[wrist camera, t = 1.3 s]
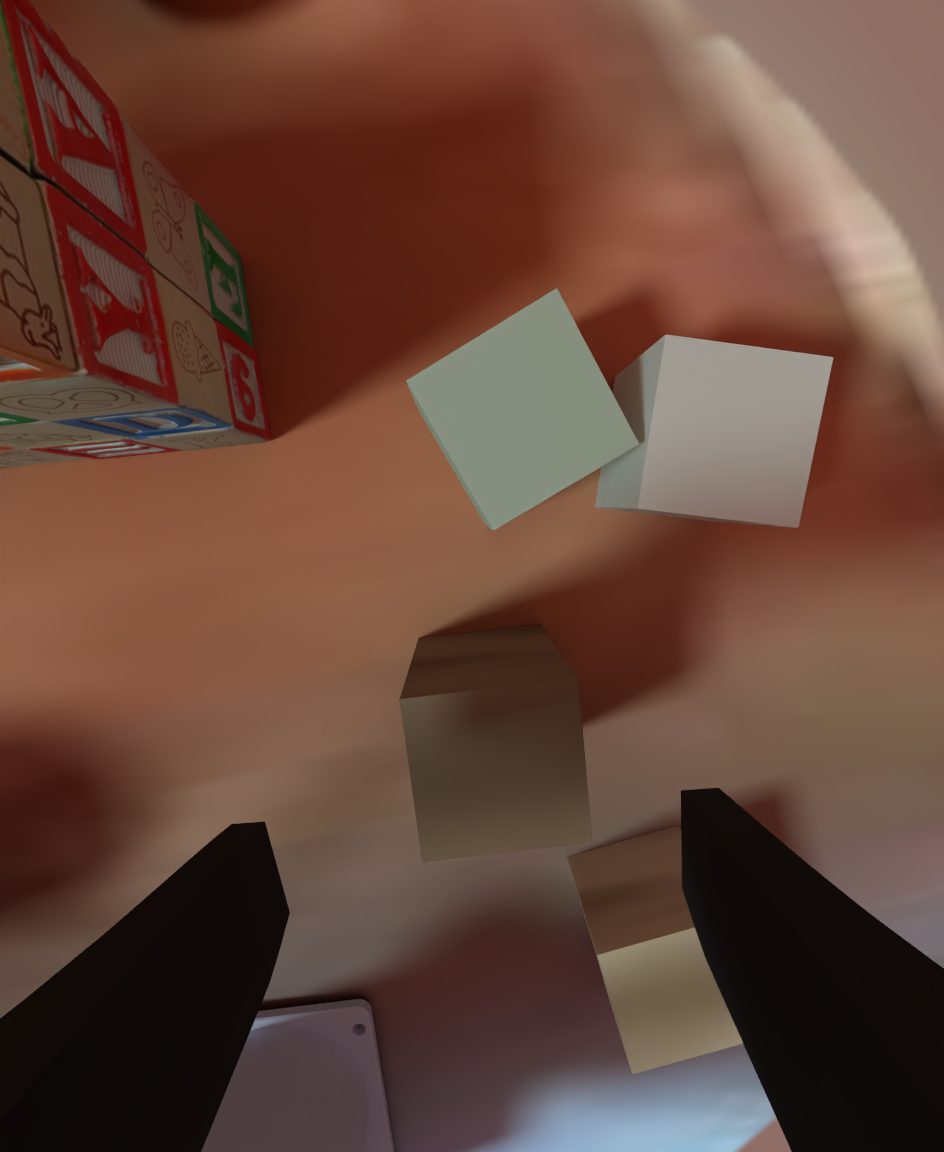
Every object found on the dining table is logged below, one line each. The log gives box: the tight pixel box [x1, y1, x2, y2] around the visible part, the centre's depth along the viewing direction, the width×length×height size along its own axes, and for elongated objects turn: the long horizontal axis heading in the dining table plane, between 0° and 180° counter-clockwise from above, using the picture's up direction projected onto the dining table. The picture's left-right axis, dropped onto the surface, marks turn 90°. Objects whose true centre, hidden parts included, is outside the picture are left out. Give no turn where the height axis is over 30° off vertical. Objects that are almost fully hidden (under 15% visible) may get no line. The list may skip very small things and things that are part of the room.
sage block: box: [406, 288, 639, 531], centre depth 16 cm, size 4×4×4 cm
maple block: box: [567, 825, 743, 1075], centre depth 18 cm, size 4×4×4 cm
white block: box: [595, 335, 833, 528], centre depth 16 cm, size 4×4×4 cm
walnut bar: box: [400, 624, 592, 862], centre depth 16 cm, size 4×4×6 cm
